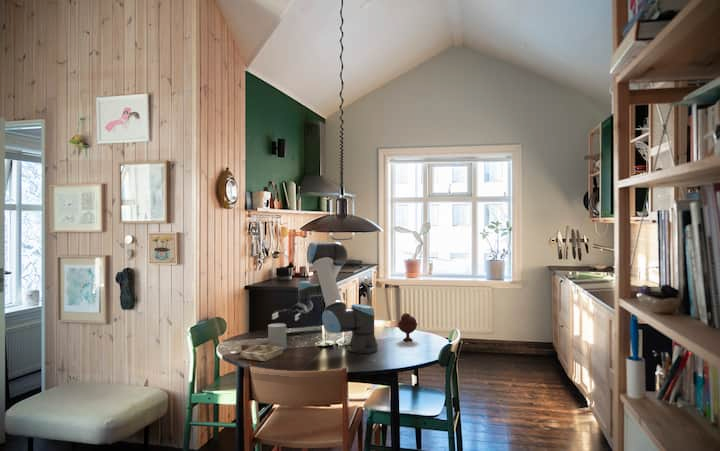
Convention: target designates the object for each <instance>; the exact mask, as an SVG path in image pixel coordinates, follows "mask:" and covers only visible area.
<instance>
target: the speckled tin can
mask: <svg viewBox="0 0 720 451" xmlns="http://www.w3.org/2000/svg"><path fill="white" fill-rule="evenodd" d="M267 331H268V332H267V334H268V338H267V341H268V345H267V346H275V347H283V351H284V350H285V349H287V324H286V323H283V322H275V323H270V324H268V325H267Z"/></svg>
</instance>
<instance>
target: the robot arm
mask: <svg viewBox="0 0 720 451" xmlns="http://www.w3.org/2000/svg"><path fill="white" fill-rule="evenodd" d="M347 251H348V250H347V248H346V247H345V246H344V245H343V243H341V242H339V241H311V242H310V243H309V244H308V245H307V249H306V262H307V263H308V264H311V265H312V268H313V269H315V271H316V273H317V277H318V282H319V283H311V281H310V280H302V281H301V280H300V281H299V282H298V286H297V293H298V294H297V295H298V299H297V301H298V302H297V303H296V304H293V305H292V306H291V308H290V309H287V308H284V309H281V310H275V311H273V312H272V314H271V320H275V319H277V318H279V317H283V316H287V317H290V316H291V317H294V321H295V322H296V321H298V320H299V319H303V318H305V319H306V318H307V313H310V311H312V309H313V307H314V305H313V302H312V301H311V300H312V299H311V297H321V296H322V297H323V301H324V303H325V307H324V309H323V312H322V315H321V320H322V326H323V328H324V329H325V331H326V332H327V333H329V334H339V333H347V332H351V338H350V342H349V345H348V350H349V352H351V353H354V354H372V353H375V352H377V351H378V350H379V344H378V342H377V338H376V336H375V309H374V308H373V306H371V305H365V304H352V305H351V307H349V308H348V307H347V305H346V303H345V302H344V301H342V298H341V297H342V296H341V294H340V290H339V286H338V284H337V280H336V279H337V277H338V274H339V272H340V270H341V269H342V267H343V266H344V265H345V264H346V263H347V260H348V252H347Z"/></svg>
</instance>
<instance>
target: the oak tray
mask: <svg viewBox="0 0 720 451" xmlns="http://www.w3.org/2000/svg"><path fill="white" fill-rule="evenodd" d="M239 353H240V359H245V358H246V360H253V361H261V362H267V361H269V360H271V359H273V358H276V357H278V356H280V355H282V354H284V350H283V347H275V346H268V345H265V344H264V345H263V344H257V345H254V346H251V348H249V349H246V350H244V351H241V350H240V352H239Z"/></svg>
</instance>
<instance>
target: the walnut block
mask: <svg viewBox="0 0 720 451" xmlns="http://www.w3.org/2000/svg"><path fill="white" fill-rule="evenodd" d="M240 347H241V350H240V352H241V351H244V350H246V349H249V348H251V347H252V343H251V342H250V343H249V342H248V343H246V342H244V343H242V344H241V346H240Z"/></svg>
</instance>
